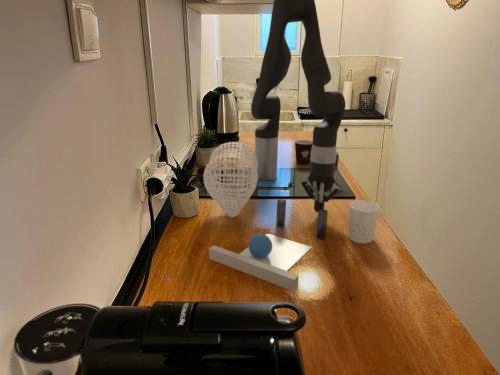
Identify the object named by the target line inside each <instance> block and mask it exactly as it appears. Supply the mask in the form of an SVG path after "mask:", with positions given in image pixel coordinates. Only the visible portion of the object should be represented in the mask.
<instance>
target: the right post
mask: <svg viewBox="0 0 500 375" xmlns="http://www.w3.org/2000/svg"><path fill="white" fill-rule="evenodd" d="M328 215H329V212H328V210H327V209H324V210H319V211H318V212H317V222H316V223H317V224H316V232H315V233H316V239H317V240H326V236H327V225H328Z"/></svg>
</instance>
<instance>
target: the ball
mask: <svg viewBox="0 0 500 375" xmlns="http://www.w3.org/2000/svg"><path fill="white" fill-rule="evenodd" d="M248 247H249V251H250V253H251V254H252V255H253V256H255V257H257V258H264V257H266V256H268V255H269V254H270V252H271V250H272V242H271V240H270V239H269V237H267V236H266V234H261V233H260V234H256V235H253V236H252V237H251V238H250V240H249V242H248Z"/></svg>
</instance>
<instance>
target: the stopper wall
mask: <svg viewBox="0 0 500 375" xmlns="http://www.w3.org/2000/svg"><path fill="white" fill-rule="evenodd" d="M208 259H209V260H212V261H214V262H217V263H219V264H222V265H225V266H227V267H229V268H232V269H235V270H237V271H240V272H242V273H245V274H248V275H250V276H253V277H255V278H258V279H261V280H263V281H265V282H269V283H271V284H274V285H276V286H279V287H281V288H284V289H286V290H289V291H291V292H295V291H296V290H297V289H298V287H299V277H300V276H299V275H298V274H295V273H292V272H289V271H285V270H282V269H279V268H276V267H273V266H271V265H268V264H265V263H262V262H259V261H257V260H254V259H251V258H248V257H246V256H243V255H240V253H238V252H234V251H231V250H228V249H226V248H223V247H220V246H217V245H212V246H210V247H208Z"/></svg>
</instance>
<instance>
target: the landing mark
mask: <svg viewBox="0 0 500 375" xmlns="http://www.w3.org/2000/svg"><path fill="white" fill-rule="evenodd" d="M265 235H266V236H267V237H269V239H270V240H271V242H272V250H271V252H270V254H269V255H268V256H266V257H264V258H257V257H255V256H253V255H252V254H251V253H250V251H249V246H248V247H246V248H245V249H244V250H242V251H241V252H239V254H240V255H243V256H246V257H248V258H251V259H254V260H257V261H259V262H262V263H265V264H268V265H271V266H273V267H276V268H279V269H282V270H285V271H287V272H289V270H290V269H292V268H293V266H294V265H296V263H298V261H300V259H302V258H303V257H304V256H305V255H306V254H307V253H308V252H309V251H311V249H312V247H313V246H310V245H306V244H303V243H300V242H297V241H292V240H290V239H286V238H283V237H280V236H277V235H273V234H269V233H266V234H265Z"/></svg>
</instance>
